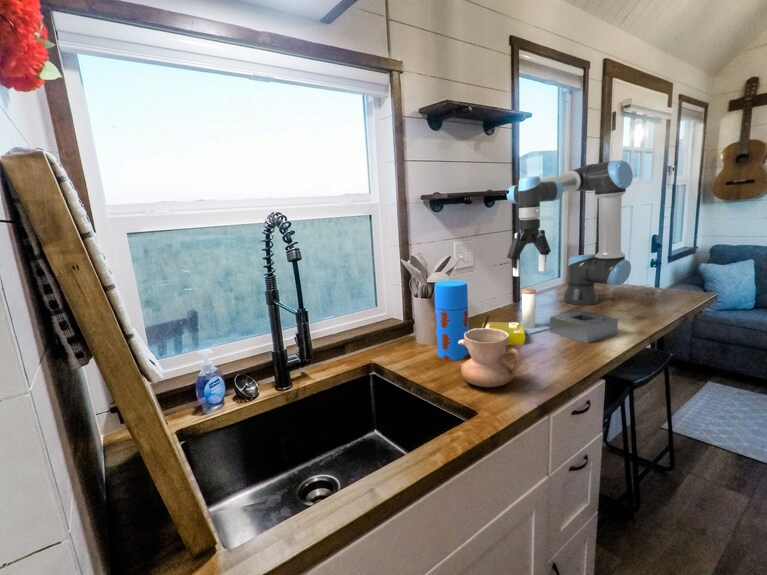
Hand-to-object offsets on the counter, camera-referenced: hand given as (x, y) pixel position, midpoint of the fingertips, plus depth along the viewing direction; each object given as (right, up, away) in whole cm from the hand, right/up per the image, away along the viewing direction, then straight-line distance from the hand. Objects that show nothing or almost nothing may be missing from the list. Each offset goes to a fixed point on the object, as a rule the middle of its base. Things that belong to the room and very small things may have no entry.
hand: (529, 273), depth 149 cm
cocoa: (-23, -27, -11) cm, 37 cm away
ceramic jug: (-27, -33, -40) cm, 58 cm away
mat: (+1, -22, +4) cm, 22 cm away
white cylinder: (+1, -21, +4) cm, 22 cm away
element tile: (-12, -25, -4) cm, 28 cm away
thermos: (-33, -29, -18) cm, 47 cm away
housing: (+18, -23, -6) cm, 29 cm away
